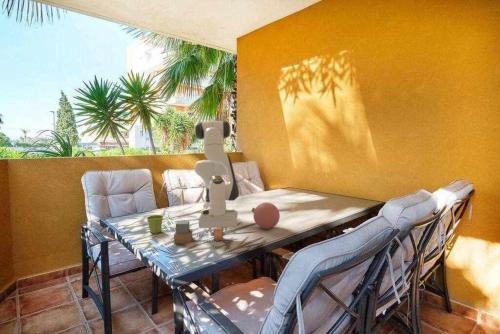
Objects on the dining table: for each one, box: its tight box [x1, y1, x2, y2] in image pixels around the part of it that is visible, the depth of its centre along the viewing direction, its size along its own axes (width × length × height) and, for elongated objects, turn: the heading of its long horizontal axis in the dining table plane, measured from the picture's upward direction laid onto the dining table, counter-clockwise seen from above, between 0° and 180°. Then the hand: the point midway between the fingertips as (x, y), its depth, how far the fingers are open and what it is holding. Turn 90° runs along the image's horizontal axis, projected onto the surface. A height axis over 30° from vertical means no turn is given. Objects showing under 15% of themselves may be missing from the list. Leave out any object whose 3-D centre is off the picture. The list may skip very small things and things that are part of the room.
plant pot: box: [146, 214, 164, 234], centre depth 167 cm, size 9×9×9 cm
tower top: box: [175, 220, 191, 234], centre depth 151 cm, size 6×6×5 cm
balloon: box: [251, 202, 281, 230], centre depth 173 cm, size 15×20×15 cm
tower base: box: [173, 228, 193, 244], centre depth 152 cm, size 8×8×5 cm
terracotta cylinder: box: [212, 228, 224, 241], centre depth 154 cm, size 5×5×5 cm
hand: (218, 235), depth 154 cm, fingers closed on terracotta cylinder, 5 cm apart
